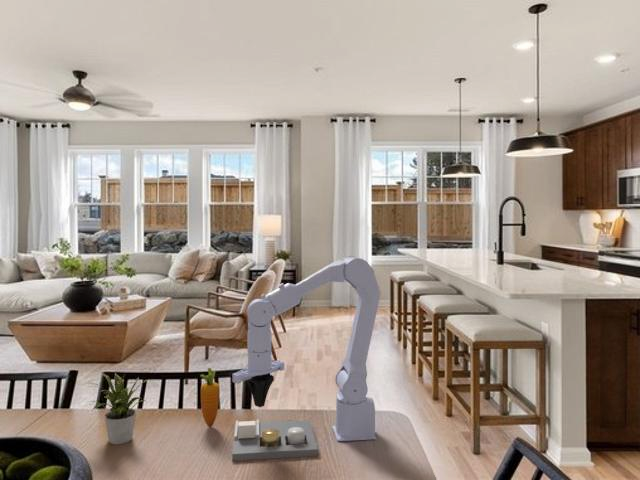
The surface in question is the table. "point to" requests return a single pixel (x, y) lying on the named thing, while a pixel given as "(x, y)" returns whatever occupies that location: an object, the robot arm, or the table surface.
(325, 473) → the table surface
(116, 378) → the house plant
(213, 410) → the carrot
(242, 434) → the white block
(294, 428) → the white button
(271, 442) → the brass button
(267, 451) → the control panel
